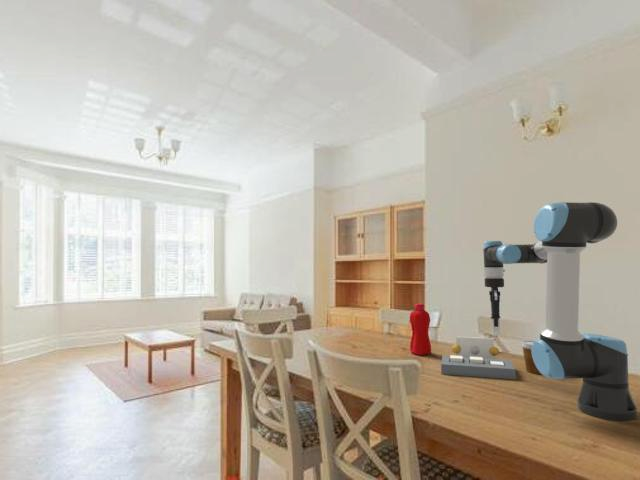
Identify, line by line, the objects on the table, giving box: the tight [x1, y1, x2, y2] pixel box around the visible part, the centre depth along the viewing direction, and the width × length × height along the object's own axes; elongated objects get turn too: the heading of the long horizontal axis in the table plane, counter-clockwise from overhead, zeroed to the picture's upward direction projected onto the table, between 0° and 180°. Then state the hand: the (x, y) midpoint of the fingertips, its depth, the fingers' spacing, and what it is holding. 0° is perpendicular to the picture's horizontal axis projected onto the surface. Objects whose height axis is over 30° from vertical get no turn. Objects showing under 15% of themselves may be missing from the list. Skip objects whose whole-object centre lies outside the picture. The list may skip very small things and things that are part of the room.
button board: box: [440, 354, 517, 381], centre depth 171 cm, size 16×28×4 cm, turn 71°
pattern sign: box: [451, 336, 500, 359], centre depth 186 cm, size 6×20×12 cm, turn 71°
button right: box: [490, 361, 504, 365], centre depth 168 cm, size 5×5×3 cm
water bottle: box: [408, 303, 432, 356], centre depth 204 cm, size 9×11×25 cm
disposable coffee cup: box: [521, 340, 542, 375], centre depth 169 cm, size 10×10×12 cm
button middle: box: [470, 356, 483, 364], centre depth 171 cm, size 5×5×3 cm
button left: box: [449, 354, 463, 363], centre depth 173 cm, size 5×5×3 cm
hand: (496, 334), depth 169 cm, fingers closed
